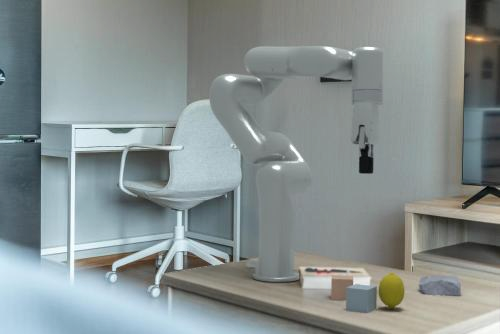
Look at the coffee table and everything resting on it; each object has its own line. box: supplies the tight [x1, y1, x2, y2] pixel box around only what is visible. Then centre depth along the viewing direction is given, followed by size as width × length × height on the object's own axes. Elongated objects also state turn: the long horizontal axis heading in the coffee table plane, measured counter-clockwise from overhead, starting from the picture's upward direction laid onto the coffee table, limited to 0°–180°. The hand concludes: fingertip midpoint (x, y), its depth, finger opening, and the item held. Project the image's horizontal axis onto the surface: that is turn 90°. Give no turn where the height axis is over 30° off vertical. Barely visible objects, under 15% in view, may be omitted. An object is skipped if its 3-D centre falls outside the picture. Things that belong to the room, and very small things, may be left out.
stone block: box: [418, 274, 462, 297], centre depth 183 cm, size 12×5×10 cm
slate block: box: [345, 283, 378, 314], centre depth 161 cm, size 5×5×5 cm
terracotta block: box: [330, 274, 354, 302], centre depth 173 cm, size 5×5×5 cm
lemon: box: [378, 272, 405, 310], centre depth 162 cm, size 6×6×8 cm
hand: (366, 173), depth 180 cm, fingers closed
